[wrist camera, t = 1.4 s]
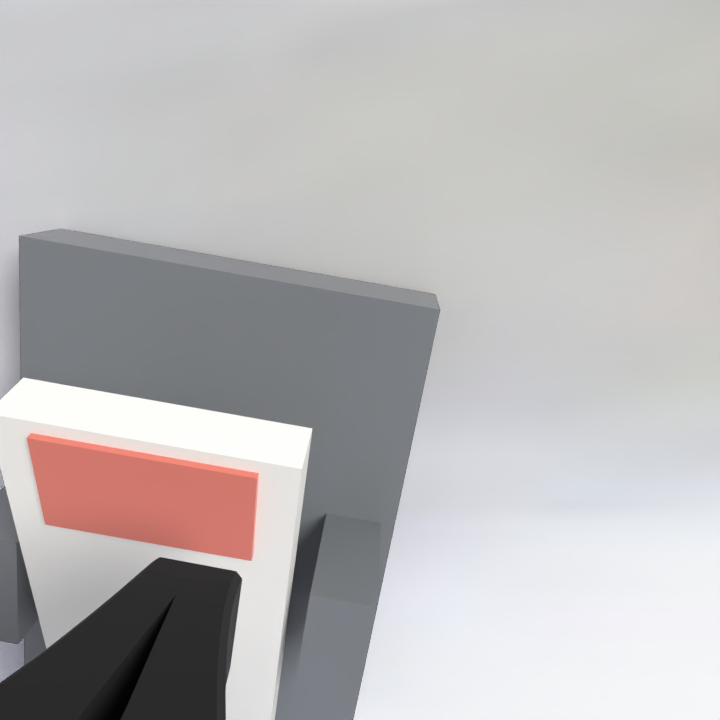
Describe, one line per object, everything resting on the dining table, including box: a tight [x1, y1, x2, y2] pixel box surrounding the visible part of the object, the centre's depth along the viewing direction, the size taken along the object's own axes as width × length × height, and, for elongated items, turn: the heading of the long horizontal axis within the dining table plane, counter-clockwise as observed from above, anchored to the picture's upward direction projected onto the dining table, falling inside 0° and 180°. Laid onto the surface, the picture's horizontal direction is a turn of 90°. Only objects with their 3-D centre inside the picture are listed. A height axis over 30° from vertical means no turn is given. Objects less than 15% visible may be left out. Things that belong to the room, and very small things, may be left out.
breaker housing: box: [0, 229, 440, 720], centre depth 17 cm, size 16×11×6 cm
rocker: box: [0, 378, 312, 720], centre depth 15 cm, size 12×6×1 cm, turn 170°
